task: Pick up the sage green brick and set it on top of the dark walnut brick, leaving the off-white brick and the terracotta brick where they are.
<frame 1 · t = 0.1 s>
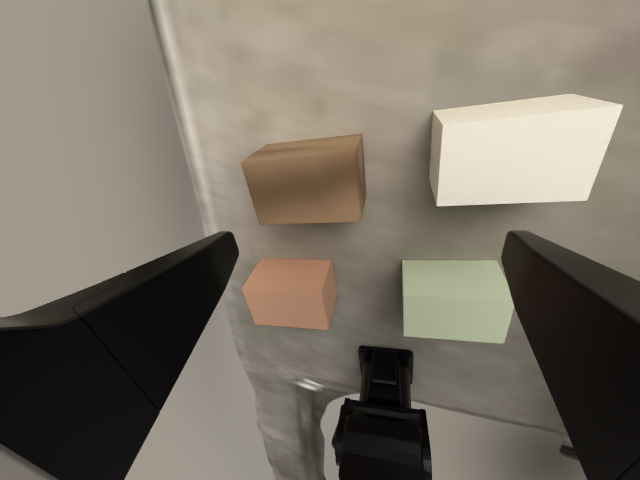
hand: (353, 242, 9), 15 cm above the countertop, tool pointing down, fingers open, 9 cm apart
off-white brick: (490, 141, 20), on the countertop
walnut brick: (317, 169, 24), on the countertop
terracotta brick: (299, 276, 31), on the countertop
sage brick: (445, 280, 27), on the countertop
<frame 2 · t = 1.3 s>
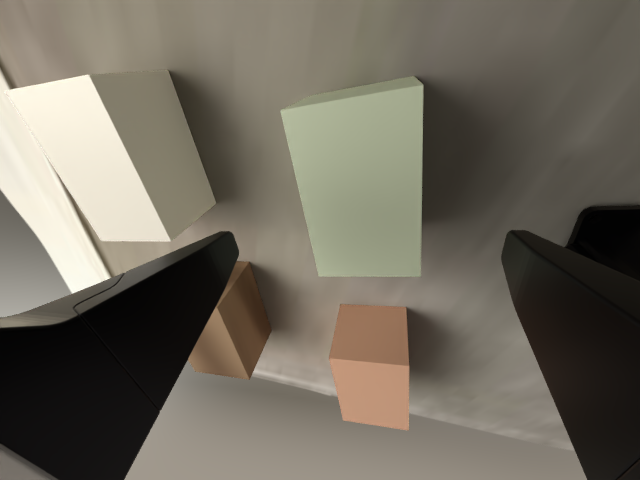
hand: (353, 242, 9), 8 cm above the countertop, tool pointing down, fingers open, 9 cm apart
off-white brick: (163, 147, 18), on the countertop
walnut brick: (236, 296, 24), on the countertop
terracotta brick: (375, 338, 24), on the countertop
sage brick: (367, 165, 16), on the countertop
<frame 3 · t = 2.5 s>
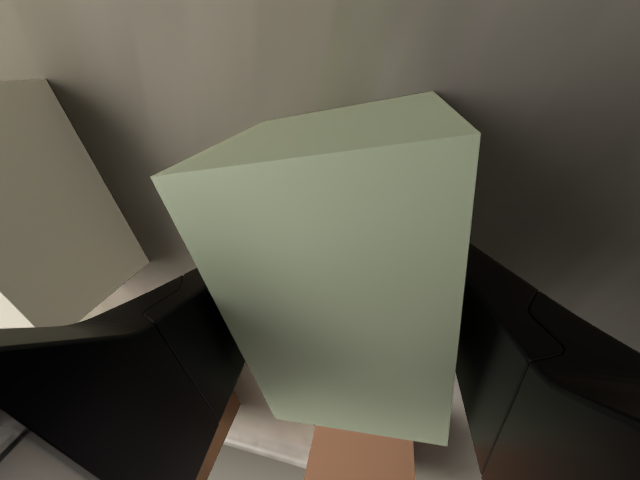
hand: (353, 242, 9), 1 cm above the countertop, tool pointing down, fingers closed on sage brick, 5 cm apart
off-white brick: (66, 187, 13), on the countertop
walnut brick: (193, 365, 19), on the countertop
terracotta brick: (372, 425, 18), on the countertop
sage brick: (356, 226, 10), on the countertop, touching gripper
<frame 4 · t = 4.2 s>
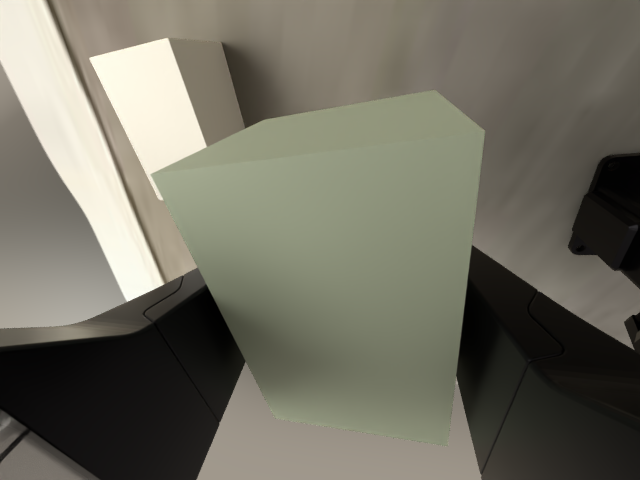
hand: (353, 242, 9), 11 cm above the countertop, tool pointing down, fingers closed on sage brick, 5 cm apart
off-white brick: (210, 117, 20), on the countertop
sage brick: (357, 225, 10), point 10 cm above the countertop, touching gripper
when the fingers open (7 cm above the countertop, at t = 6.0 s): sage brick drops 2 cm, point 5 cm above the countertop.
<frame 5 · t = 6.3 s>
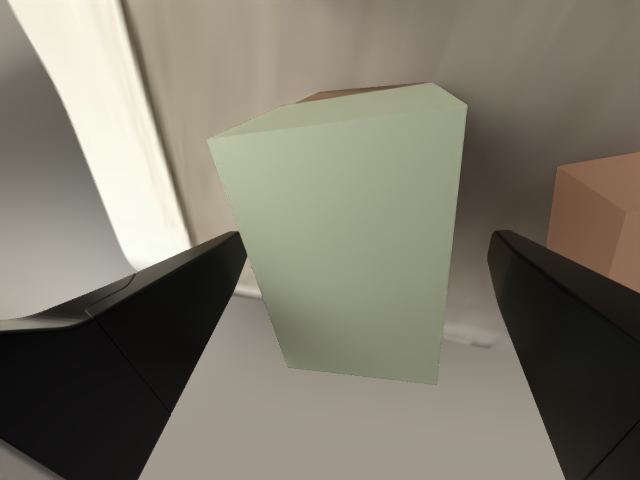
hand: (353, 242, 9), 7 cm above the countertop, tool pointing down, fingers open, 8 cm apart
walnut brick: (369, 168, 16), on the countertop
terracotta brick: (604, 228, 15), on the countertop
sage brick: (361, 203, 11), point 5 cm above the countertop
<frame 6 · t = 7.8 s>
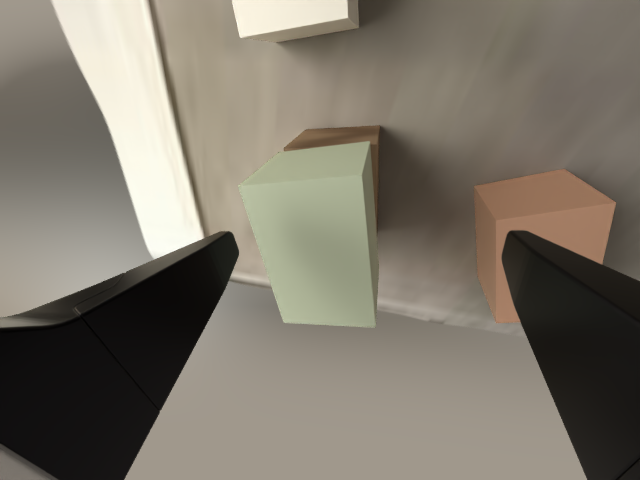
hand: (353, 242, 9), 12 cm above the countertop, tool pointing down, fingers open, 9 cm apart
walnut brick: (344, 183, 21), on the countertop, touching sage brick
terracotta brick: (514, 228, 20), on the countertop
sage brick: (332, 214, 17), point 5 cm above the countertop, touching walnut brick
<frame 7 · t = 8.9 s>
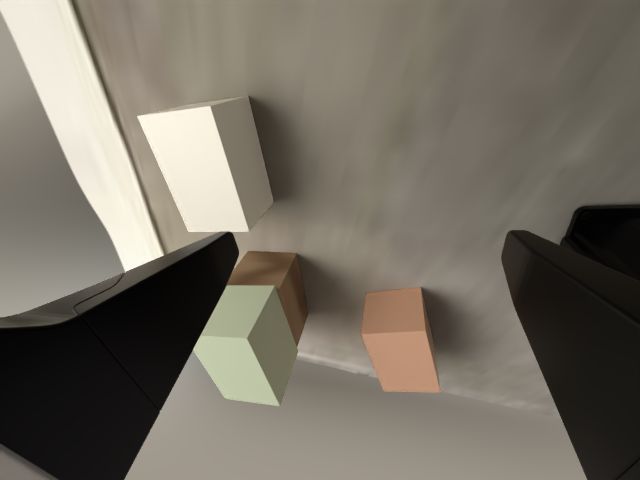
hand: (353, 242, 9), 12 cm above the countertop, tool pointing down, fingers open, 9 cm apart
off-white brick: (234, 156, 22), on the countertop
walnut brick: (280, 283, 29), on the countertop, touching sage brick
terracotta brick: (401, 319, 27), on the countertop
sage brick: (261, 319, 24), point 5 cm above the countertop, touching walnut brick
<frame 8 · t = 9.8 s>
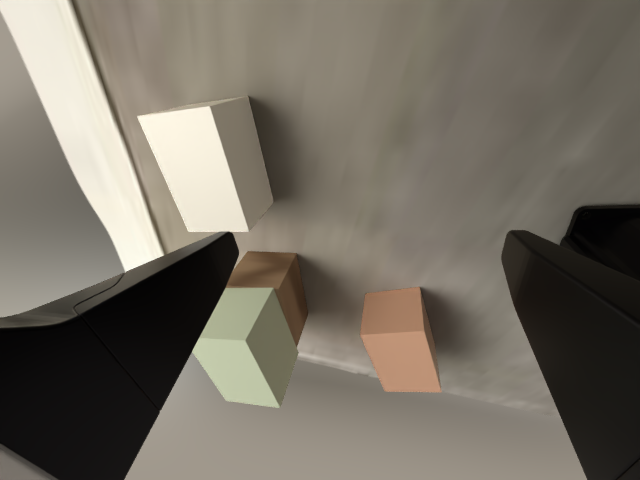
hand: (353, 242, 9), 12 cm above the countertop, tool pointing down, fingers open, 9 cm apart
off-white brick: (234, 156, 22), on the countertop
walnut brick: (279, 283, 29), on the countertop, touching sage brick
terracotta brick: (401, 319, 27), on the countertop
sage brick: (261, 321, 24), point 5 cm above the countertop, touching walnut brick
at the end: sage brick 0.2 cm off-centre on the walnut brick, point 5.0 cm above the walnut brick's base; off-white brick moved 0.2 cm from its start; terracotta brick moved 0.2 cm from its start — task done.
